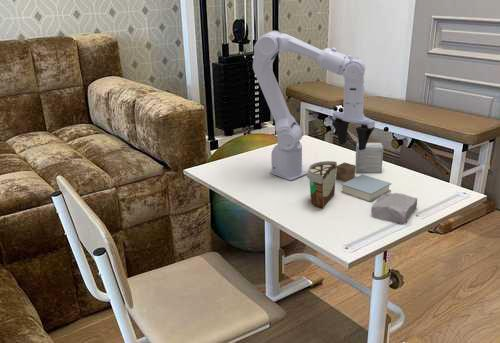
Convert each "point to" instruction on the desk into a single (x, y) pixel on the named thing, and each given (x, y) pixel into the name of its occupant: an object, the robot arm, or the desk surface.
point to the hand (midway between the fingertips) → (352, 146)
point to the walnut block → (345, 172)
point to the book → (366, 187)
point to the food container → (322, 182)
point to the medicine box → (369, 158)
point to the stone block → (394, 207)
